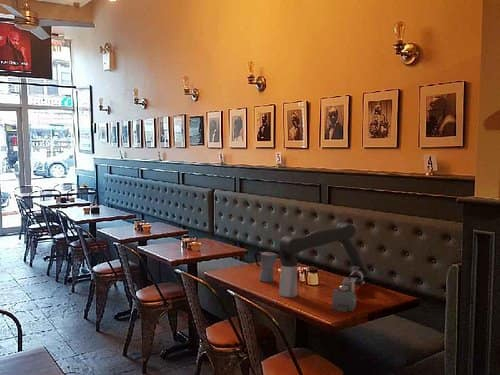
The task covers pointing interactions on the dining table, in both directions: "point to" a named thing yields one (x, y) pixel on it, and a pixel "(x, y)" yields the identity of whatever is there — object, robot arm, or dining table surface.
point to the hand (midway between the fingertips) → (351, 285)
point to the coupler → (344, 299)
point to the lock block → (349, 283)
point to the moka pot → (266, 265)
